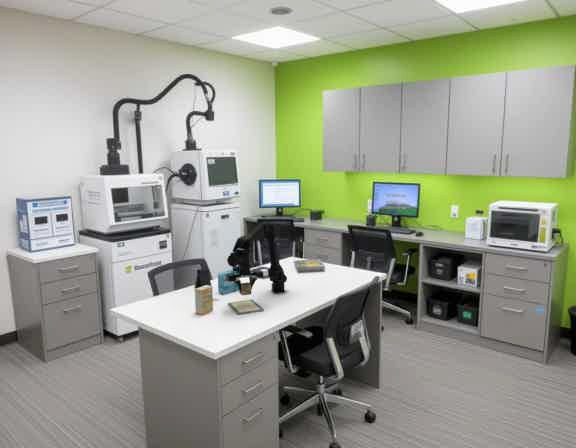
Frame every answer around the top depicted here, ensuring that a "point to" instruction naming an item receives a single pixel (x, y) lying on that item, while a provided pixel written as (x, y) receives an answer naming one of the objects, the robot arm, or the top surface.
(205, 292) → the supplement box
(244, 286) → the walnut cube
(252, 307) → the slate pad
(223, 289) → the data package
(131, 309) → the top surface
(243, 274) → the robot arm
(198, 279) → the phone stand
